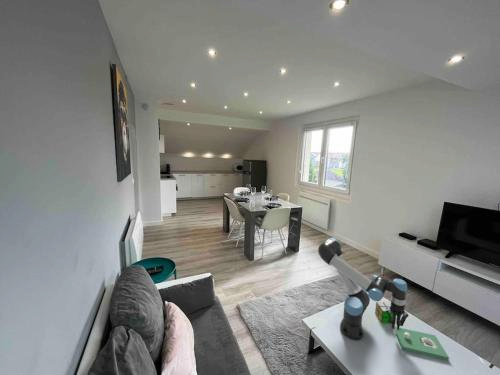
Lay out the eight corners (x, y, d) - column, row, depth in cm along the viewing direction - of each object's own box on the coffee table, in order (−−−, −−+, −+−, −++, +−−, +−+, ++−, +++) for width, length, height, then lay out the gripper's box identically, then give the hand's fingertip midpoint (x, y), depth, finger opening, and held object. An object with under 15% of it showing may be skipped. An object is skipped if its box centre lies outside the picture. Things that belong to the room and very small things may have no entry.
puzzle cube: (388, 313, 164) (389, 302, 162) (395, 323, 154) (397, 312, 152) (374, 312, 165) (376, 301, 163) (381, 323, 155) (382, 311, 153)
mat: (402, 349, 134) (402, 346, 134) (393, 329, 149) (394, 326, 149) (448, 360, 127) (448, 357, 127) (434, 338, 142) (435, 335, 141)
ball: (404, 339, 139) (405, 334, 138) (402, 335, 142) (403, 330, 141) (411, 340, 138) (411, 336, 137) (408, 336, 141) (409, 331, 140)
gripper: (388, 304, 136) (385, 335, 140) (412, 308, 132) (408, 340, 136) (385, 296, 143) (382, 326, 147) (407, 300, 139) (403, 330, 143)
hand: (394, 332), depth 142 cm, fingers closed
